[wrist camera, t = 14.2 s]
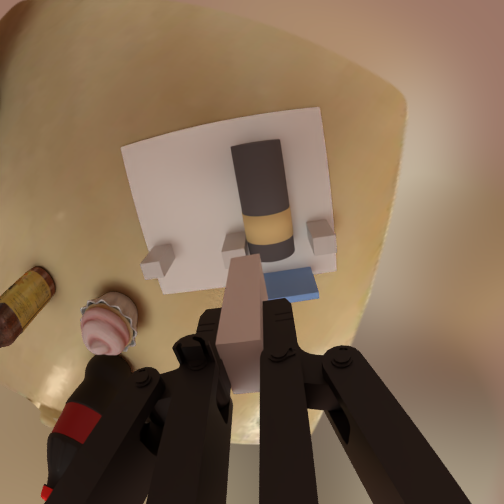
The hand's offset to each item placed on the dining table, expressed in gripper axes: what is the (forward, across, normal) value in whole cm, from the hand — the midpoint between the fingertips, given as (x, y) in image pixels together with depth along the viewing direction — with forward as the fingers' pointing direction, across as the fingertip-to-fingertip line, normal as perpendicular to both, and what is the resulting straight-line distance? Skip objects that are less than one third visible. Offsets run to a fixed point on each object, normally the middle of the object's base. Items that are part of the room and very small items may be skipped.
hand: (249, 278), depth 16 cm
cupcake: (+20, -23, -13) cm, 33 cm away
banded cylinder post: (+19, +2, 0) cm, 19 cm away
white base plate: (+20, -3, -1) cm, 20 cm away
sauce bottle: (+20, -37, -7) cm, 43 cm away
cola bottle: (+20, -30, -25) cm, 44 cm away
